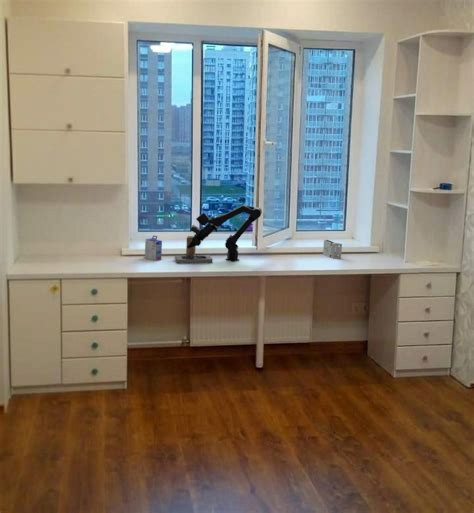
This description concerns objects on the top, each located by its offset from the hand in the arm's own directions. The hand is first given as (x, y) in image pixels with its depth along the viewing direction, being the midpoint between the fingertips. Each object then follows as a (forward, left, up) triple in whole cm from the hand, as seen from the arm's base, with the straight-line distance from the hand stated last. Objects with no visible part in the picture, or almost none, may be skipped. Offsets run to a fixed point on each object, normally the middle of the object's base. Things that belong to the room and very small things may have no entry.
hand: (188, 246), depth 411 cm
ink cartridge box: (+8, +22, -7) cm, 24 cm away
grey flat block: (-10, +4, -7) cm, 13 cm away
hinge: (-52, -81, -7) cm, 97 cm away
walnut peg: (-1, -1, -7) cm, 7 cm away
